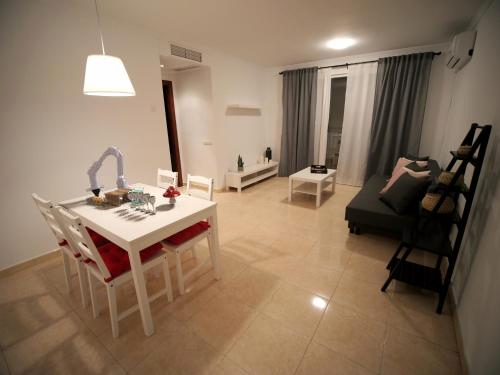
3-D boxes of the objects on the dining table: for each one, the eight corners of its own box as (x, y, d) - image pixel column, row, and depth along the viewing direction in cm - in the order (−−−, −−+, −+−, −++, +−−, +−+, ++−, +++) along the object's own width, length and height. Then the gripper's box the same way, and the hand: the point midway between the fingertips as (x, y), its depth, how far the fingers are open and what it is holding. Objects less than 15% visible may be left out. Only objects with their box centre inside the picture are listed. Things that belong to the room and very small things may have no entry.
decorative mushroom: (184, 203, 182) (182, 186, 178) (167, 208, 174) (165, 189, 170) (177, 199, 193) (175, 182, 189) (161, 203, 185) (159, 185, 181)
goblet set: (159, 211, 168) (156, 194, 164) (152, 213, 163) (150, 196, 160) (134, 205, 181) (131, 189, 177) (127, 208, 176) (125, 191, 172)
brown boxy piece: (124, 198, 199) (122, 188, 196) (136, 200, 194) (134, 189, 191) (106, 204, 184) (104, 193, 181) (118, 206, 178) (116, 195, 176)
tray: (94, 201, 193) (93, 195, 192) (109, 203, 187) (108, 197, 185) (86, 203, 188) (85, 197, 186) (101, 206, 181) (100, 199, 180)
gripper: (99, 180, 203) (102, 194, 207) (82, 184, 190) (85, 199, 194) (104, 180, 201) (107, 195, 204) (88, 184, 188) (91, 200, 192)
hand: (97, 197), depth 199 cm, fingers closed
